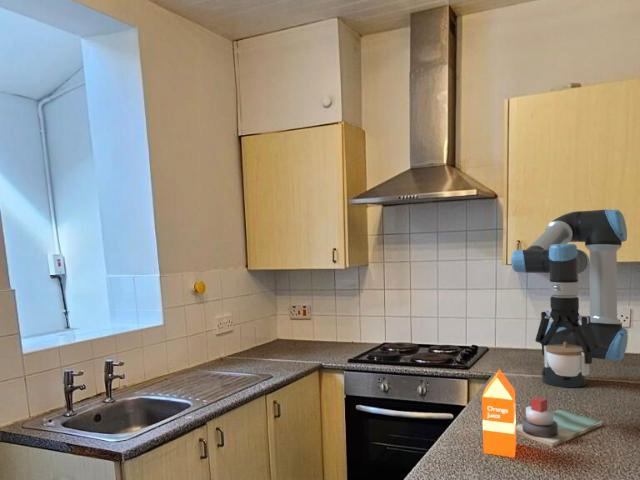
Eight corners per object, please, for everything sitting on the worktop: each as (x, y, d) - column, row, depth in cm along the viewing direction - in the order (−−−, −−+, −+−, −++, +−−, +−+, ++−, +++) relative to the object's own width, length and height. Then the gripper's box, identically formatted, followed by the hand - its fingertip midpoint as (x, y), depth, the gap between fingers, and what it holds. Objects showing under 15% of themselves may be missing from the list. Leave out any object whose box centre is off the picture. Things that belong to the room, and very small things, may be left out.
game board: (559, 412, 153) (559, 401, 153) (602, 425, 142) (602, 413, 142) (509, 431, 140) (509, 419, 140) (552, 446, 129) (552, 433, 129)
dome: (535, 414, 142) (535, 393, 142) (558, 421, 136) (558, 399, 136) (520, 419, 138) (520, 398, 138) (543, 427, 132) (543, 405, 132)
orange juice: (483, 453, 127) (480, 375, 127) (486, 439, 135) (484, 367, 135) (515, 457, 123) (513, 378, 123) (517, 444, 131) (514, 369, 131)
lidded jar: (551, 367, 152) (550, 337, 152) (590, 372, 145) (589, 340, 145) (542, 375, 144) (541, 343, 144) (582, 381, 137) (581, 347, 137)
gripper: (521, 294, 152) (523, 364, 152) (597, 300, 133) (599, 381, 133) (536, 292, 156) (538, 361, 156) (611, 298, 137) (613, 376, 137)
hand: (566, 370), depth 144 cm, fingers closed on lidded jar, 11 cm apart
